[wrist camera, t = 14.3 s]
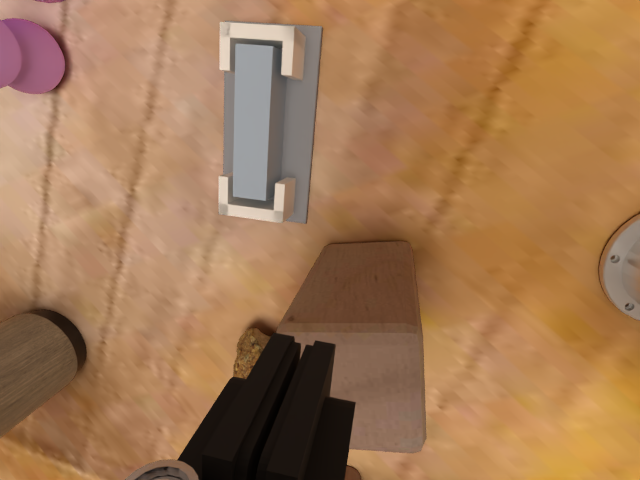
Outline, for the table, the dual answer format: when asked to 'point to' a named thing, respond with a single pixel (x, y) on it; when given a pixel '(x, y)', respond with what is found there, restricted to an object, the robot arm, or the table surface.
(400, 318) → the wooden block
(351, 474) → the building blocks
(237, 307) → the table surface
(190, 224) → the table surface
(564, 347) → the table surface
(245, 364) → the rock
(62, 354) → the lamp
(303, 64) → the endcap board
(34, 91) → the container set
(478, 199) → the table surface
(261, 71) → the blue-grey rectangular bar
